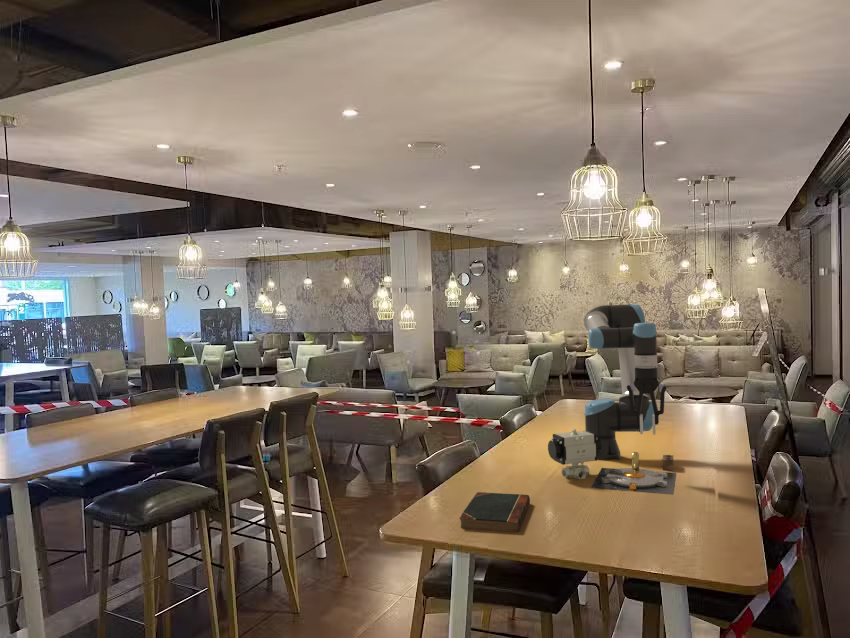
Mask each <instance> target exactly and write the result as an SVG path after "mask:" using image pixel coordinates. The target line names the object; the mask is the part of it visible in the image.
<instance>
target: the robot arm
mask: <svg viewBox="0 0 850 638" xmlns="http://www.w3.org/2000/svg"><path fill="white" fill-rule="evenodd" d="M583 325H584V328H585V329H586V331H587V332H588V333H587V336H588V337H587V340H588V347H589V348H590V349H595V350H602V349H604V350H605V349H607V350H608V349H618V358H619V359H618V360H619V361H618V363H619V371H620V383H621V393H622V394H621V396H619V397H618V402H616V401H615V399H614V398H606V397H605V398H597V399H593V400H590V401H588V402H586V404H585V406H584V413H583V414H584V419H585V420H584V425H585V427H584V428H585V430H584V431H589V432H591V433H594V434H596V436H598V437H599V439H600V441H601V445H602V450H601V452H600V454H598V457H597V461H609V460H611V461H612V460H613V461H619V460H620V459H621V458H622V457H621V454H622V453H621V450H620V447H619V445H618V442H617V439H616V438H617V437H616V433H617V432H619V433H620V432H621V433H623V432H625V433H626V432H628V433H630V432H632V433H634V432H636V433H637V432H638V433H639V434H640V435H643V434H644V432H649V431H651V430H652V435H654V436H655V435H656V433H657V432H656V429H657V428H656V425H657V426H658V425H659V422H660V420H659V419H660V418H659V416H660V415H664V412H665V396H666V395H665V393H666V390H667V387H668V386H667V385H666V384H665V385H664V384H662V383H660V381H659V378H658V375H659V373H658V367H657V366H658V353H657V351H658V349H657V348H658V347H657V334H658V331H657V326H656V325H657V324H655V323H654V322H646V318H645V313H644V310H643V308H642V307H641V305H639V304H632V303H629V304H628V303H627V304H611V305H610V304H607V305H605V304H603V305H598V306H596V307H594V308H593V309H592V308H591V310H589V311H588V312H587V313H586V314H585V316H584V318H583ZM657 388H659V391H660V399H659V400H660V402H659V409H658V404H657V400H656V396H655V395H656V394H655V392H656V390H657ZM647 394H649V395H647ZM649 396H650V397H649ZM650 400H651V401H650Z"/></svg>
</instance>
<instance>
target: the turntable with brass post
mask: <svg viewBox="0 0 850 638" xmlns="http://www.w3.org/2000/svg"><path fill="white" fill-rule="evenodd" d="M631 466H632V467H624V468H614V469H615V470H612V469H613V468H611V469H606V470H605V474H607V477H602V482H603V483H613V484H616V485H619V486H625V487H630V489H634V490H636V488H645V487H654V486H661V487H665V486H667V481H663V478H667V473H666V472H667V471H656V472H655V470H651V469H646V468H640V453H639V452H638V451H633V452H631Z"/></svg>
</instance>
